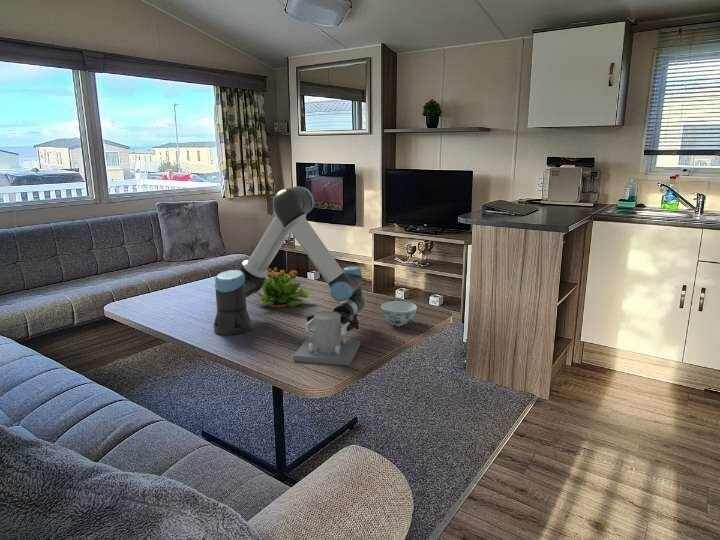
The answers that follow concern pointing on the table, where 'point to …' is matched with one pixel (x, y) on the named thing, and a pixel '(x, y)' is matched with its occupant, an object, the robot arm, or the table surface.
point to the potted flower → (281, 290)
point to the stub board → (338, 357)
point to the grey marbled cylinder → (327, 331)
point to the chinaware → (398, 311)
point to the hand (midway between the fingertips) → (324, 329)
